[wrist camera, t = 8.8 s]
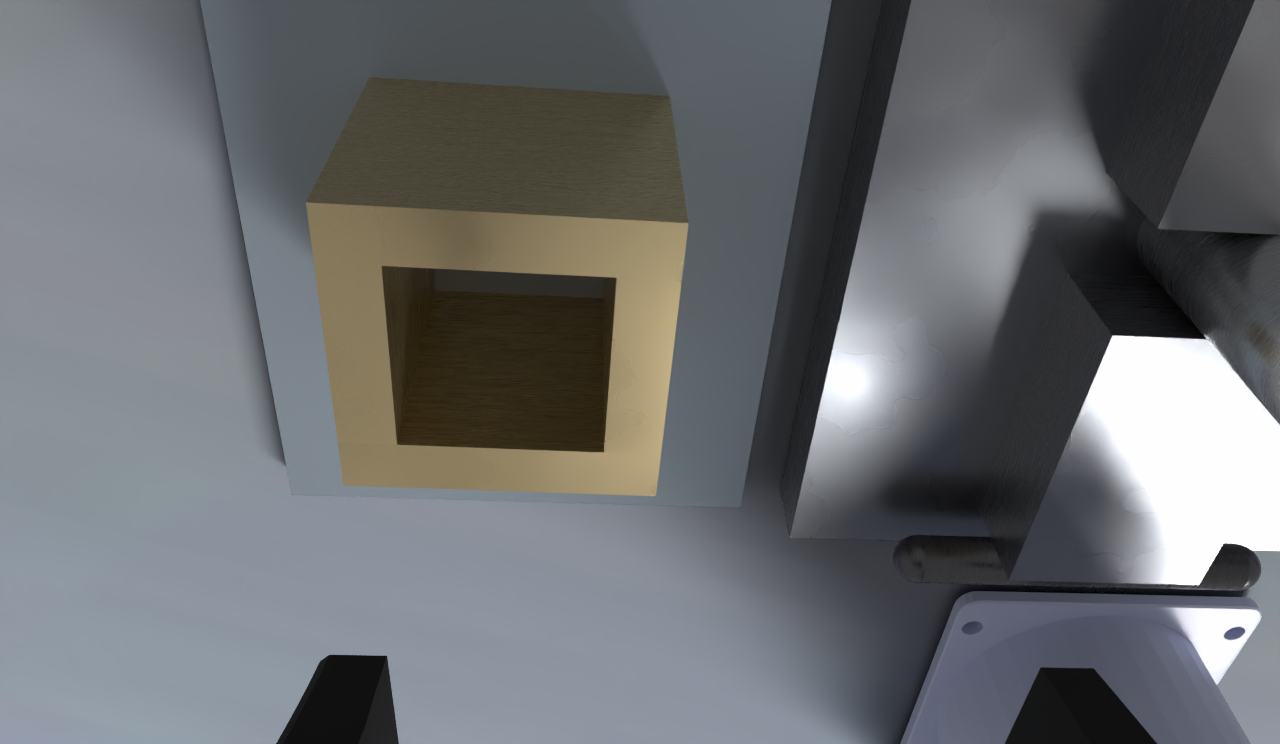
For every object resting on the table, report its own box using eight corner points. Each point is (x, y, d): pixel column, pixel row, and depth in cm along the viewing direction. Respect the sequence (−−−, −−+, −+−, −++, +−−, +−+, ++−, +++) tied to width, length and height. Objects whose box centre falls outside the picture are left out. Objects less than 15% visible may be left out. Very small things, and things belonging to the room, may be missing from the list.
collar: (645, 338, 20) (655, 496, 16) (390, 326, 20) (343, 485, 16) (669, 95, 17) (688, 223, 13) (369, 76, 17) (306, 202, 13)
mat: (737, 489, 23) (740, 507, 23) (297, 476, 23) (291, 495, 22) (857, -197, 15) (866, -191, 15) (169, -250, 14) (155, -245, 14)
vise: (1272, 505, 24) (1493, 796, 18) (780, 490, 23) (842, 791, 17) (1756, -285, 15) (2559, -223, 9) (956, -356, 14) (1230, -341, 8)
